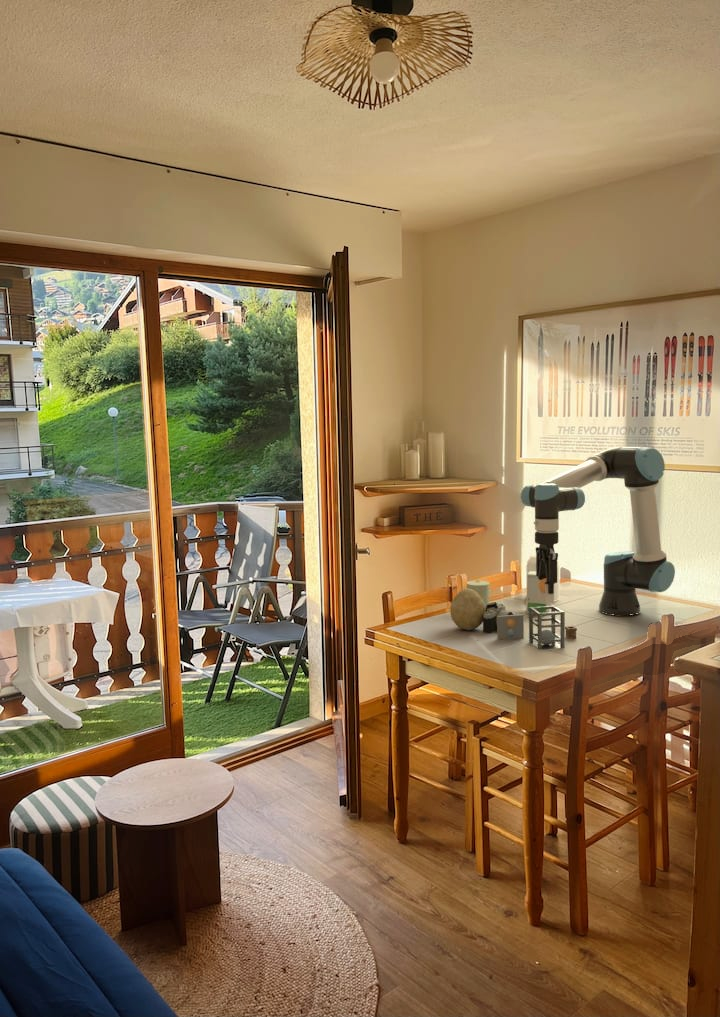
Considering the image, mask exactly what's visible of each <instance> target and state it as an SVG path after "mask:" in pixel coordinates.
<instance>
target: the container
mask: <svg viewBox="0 0 720 1017" xmlns="http://www.w3.org/2000/svg"><path fill="white" fill-rule="evenodd" d="M525 571H526V575H527V574H528V573H529V572H530V571H535V572H536V552H535V553H533V554H531V555H530V557H529V558H528V560H527V564H526V570H525ZM558 598H559V599H560V564H559V561H558V560H557V583H555V584H554V600H557V599H558Z"/></svg>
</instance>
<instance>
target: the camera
mask: <svg viewBox="0 0 720 1017" xmlns="http://www.w3.org/2000/svg"><path fill="white" fill-rule="evenodd" d="M505 615H514V613H513V612H512V611H509V610H508V611H507V610H506V605H504V604H503V603H498V602H496V601H490V603H489V604H487V606H486V612H484V617H483V622H482V632H483V634H484V633H485V634H493V633H494V632H497V616H505Z"/></svg>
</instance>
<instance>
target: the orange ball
mask: <svg viewBox="0 0 720 1017" xmlns="http://www.w3.org/2000/svg"><path fill="white" fill-rule="evenodd" d="M544 582H547V581H546V578H545V579H542V580H541V581H540V582H539V589H540V591H541V592H542V593H545V583H544Z"/></svg>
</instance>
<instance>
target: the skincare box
mask: <svg viewBox="0 0 720 1017" xmlns="http://www.w3.org/2000/svg"><path fill="white" fill-rule="evenodd" d="M550 604H551V603H548V604H546V603H545V599H544V600H539V579H538V576H536V572H535V571H530V572H529V573H528V574H527V573H526V613H527V614H529V607H544V606H551V605H550ZM536 611H538V612H539V613H548V612H550V609H543V610H536ZM534 614H535V613H534V612H533V615H534ZM535 615H536V614H535Z"/></svg>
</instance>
